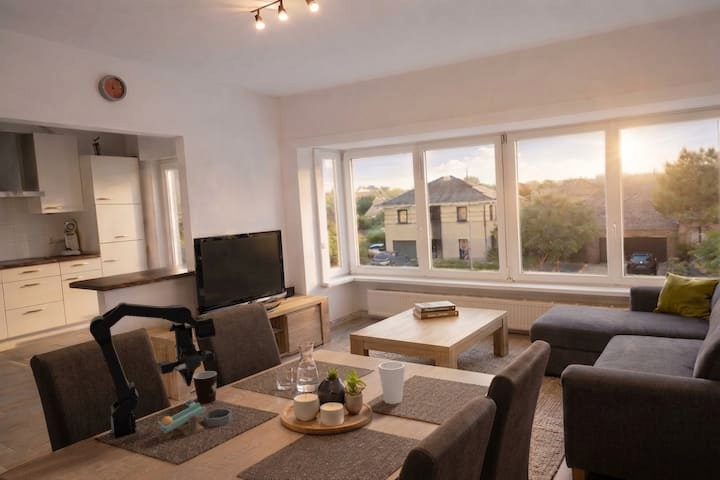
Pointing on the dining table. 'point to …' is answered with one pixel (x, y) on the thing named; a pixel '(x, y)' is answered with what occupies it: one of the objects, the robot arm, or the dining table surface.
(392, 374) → the foam cup
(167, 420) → the ball
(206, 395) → the coffee mug
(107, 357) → the robot arm
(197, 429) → the fulcrum
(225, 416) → the bowl
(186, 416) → the lever
